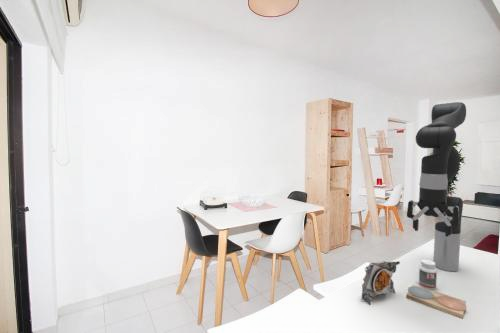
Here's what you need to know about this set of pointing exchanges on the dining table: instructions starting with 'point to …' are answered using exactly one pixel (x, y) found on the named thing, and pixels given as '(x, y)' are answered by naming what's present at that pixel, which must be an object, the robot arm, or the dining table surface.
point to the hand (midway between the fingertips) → (431, 233)
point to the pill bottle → (427, 274)
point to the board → (436, 303)
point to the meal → (378, 279)
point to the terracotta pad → (451, 303)
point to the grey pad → (420, 292)
